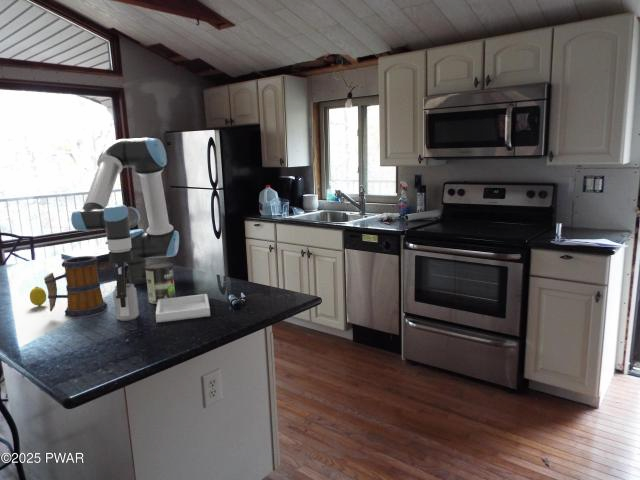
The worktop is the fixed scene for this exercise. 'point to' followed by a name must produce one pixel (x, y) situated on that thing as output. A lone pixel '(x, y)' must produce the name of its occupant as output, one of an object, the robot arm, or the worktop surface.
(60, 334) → the worktop surface
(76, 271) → the mug
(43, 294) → the lemon
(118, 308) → the can
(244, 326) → the worktop surface
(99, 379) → the worktop surface
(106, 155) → the robot arm
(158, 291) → the coffee can
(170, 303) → the tray
